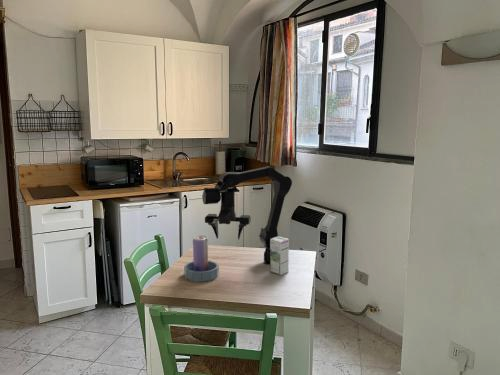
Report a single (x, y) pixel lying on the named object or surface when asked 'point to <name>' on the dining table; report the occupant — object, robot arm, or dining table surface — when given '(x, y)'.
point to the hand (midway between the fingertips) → (228, 238)
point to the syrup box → (279, 255)
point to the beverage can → (200, 253)
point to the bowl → (201, 276)
